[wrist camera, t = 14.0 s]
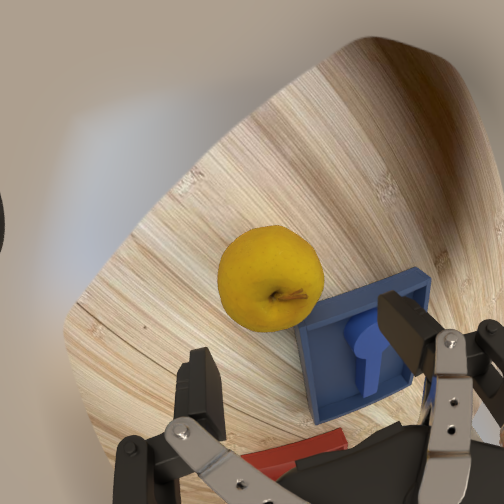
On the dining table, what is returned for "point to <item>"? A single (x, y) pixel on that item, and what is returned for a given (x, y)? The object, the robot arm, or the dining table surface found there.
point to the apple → (269, 279)
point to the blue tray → (340, 353)
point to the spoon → (366, 349)
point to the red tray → (295, 453)
